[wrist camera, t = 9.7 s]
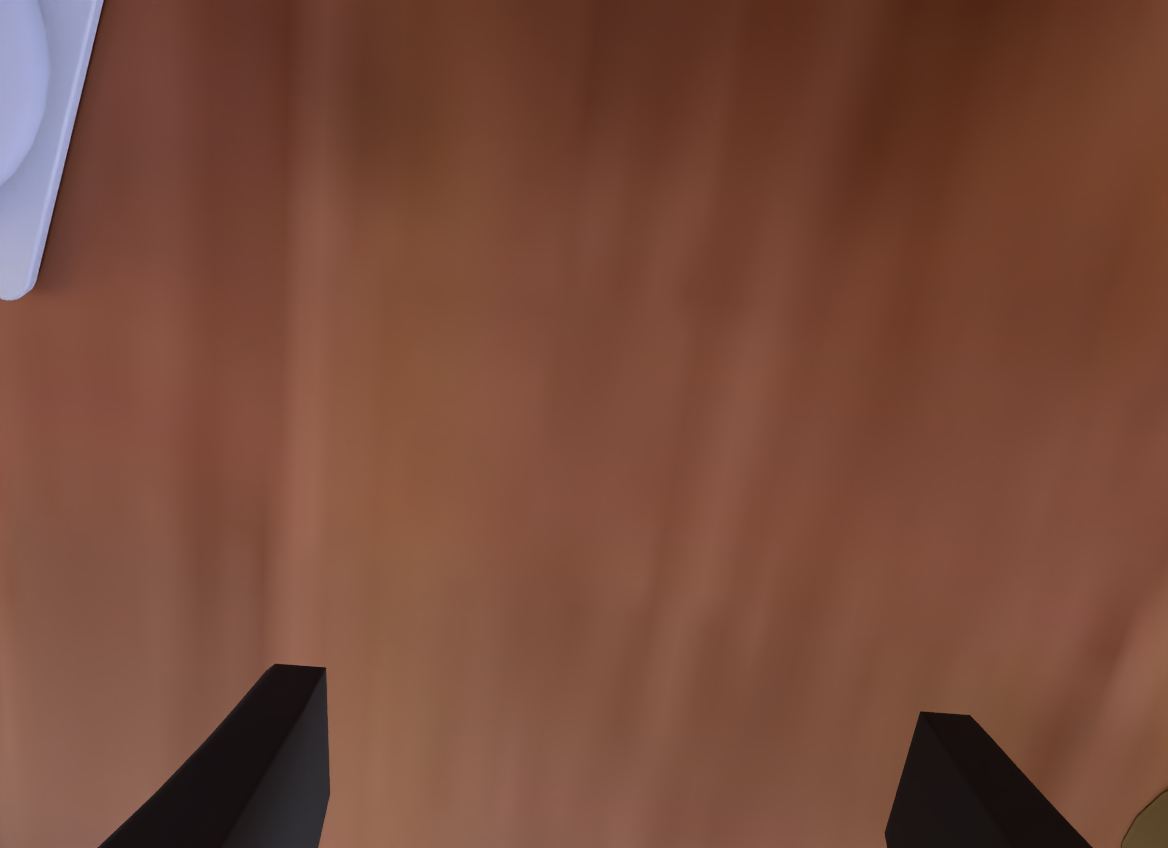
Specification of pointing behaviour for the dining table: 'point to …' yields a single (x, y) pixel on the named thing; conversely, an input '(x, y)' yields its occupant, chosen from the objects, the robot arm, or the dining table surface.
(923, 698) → the dining table surface
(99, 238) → the dining table surface
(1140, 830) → the cork
